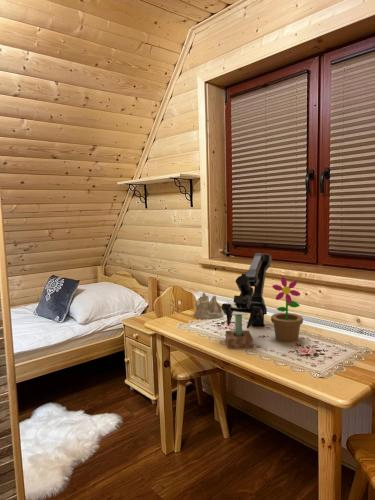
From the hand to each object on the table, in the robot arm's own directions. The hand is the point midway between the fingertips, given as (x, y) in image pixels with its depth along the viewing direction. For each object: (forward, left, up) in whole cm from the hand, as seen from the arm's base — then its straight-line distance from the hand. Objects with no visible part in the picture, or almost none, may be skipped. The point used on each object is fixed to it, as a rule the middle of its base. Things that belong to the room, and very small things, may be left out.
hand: (237, 326), depth 166 cm
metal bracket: (-4, -52, -9) cm, 53 cm away
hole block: (-1, -1, -8) cm, 8 cm away
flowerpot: (-24, -6, -8) cm, 26 cm away
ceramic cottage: (+11, -46, -8) cm, 48 cm away
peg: (-1, -1, -8) cm, 8 cm away
